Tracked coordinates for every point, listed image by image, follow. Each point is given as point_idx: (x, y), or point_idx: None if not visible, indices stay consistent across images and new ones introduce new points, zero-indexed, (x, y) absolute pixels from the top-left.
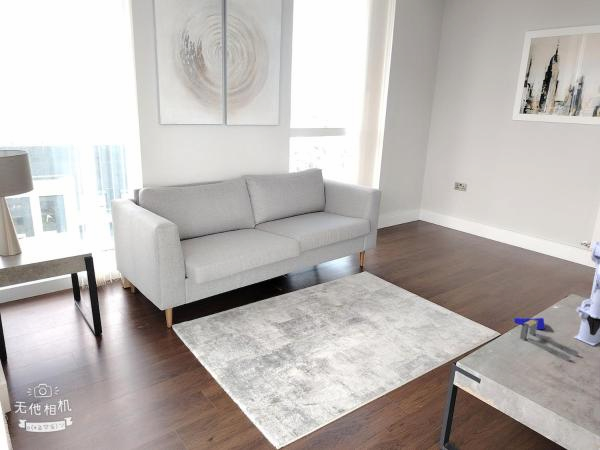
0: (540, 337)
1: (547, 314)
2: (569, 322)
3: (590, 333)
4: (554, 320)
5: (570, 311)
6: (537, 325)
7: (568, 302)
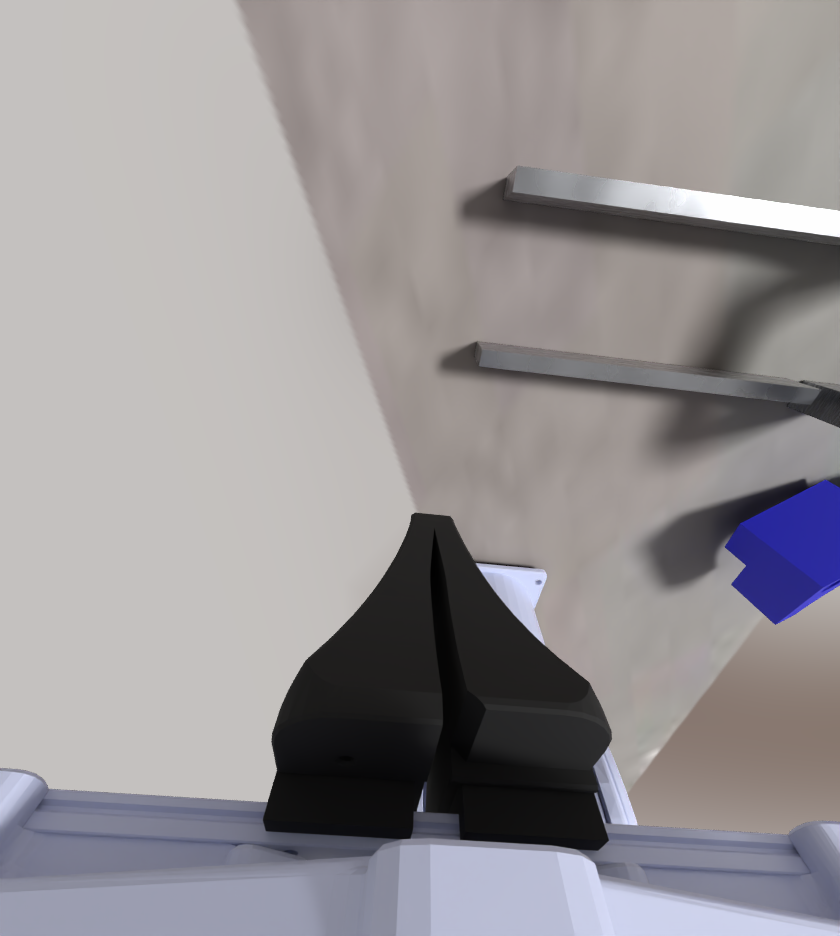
0: (773, 381)
1: (690, 691)
2: None
3: (447, 520)
4: (655, 665)
5: None
6: (805, 521)
7: None
